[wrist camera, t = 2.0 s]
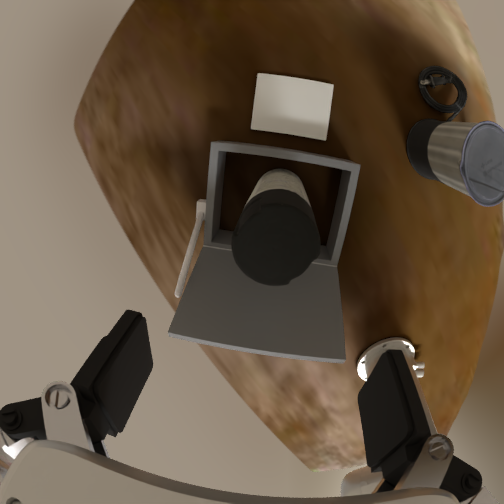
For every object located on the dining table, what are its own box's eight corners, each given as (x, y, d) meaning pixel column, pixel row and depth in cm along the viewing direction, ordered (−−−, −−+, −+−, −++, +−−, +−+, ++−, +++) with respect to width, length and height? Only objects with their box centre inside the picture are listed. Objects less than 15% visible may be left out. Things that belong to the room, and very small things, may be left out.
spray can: (246, 191, 38) (209, 249, 20) (279, 156, 36) (275, 183, 18) (280, 223, 40) (275, 305, 22) (314, 191, 37) (341, 250, 19)
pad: (332, 85, 31) (333, 84, 30) (325, 140, 34) (325, 140, 34) (258, 73, 31) (257, 73, 31) (251, 129, 35) (250, 129, 34)
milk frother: (419, 189, 35) (475, 222, 21) (371, 92, 30) (418, 74, 17) (480, 152, 30) (541, 171, 17) (439, 61, 26) (498, 44, 12)
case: (351, 160, 35) (406, 188, 18) (325, 276, 42) (343, 364, 26) (211, 139, 36) (149, 149, 19) (202, 257, 43) (156, 334, 27)
